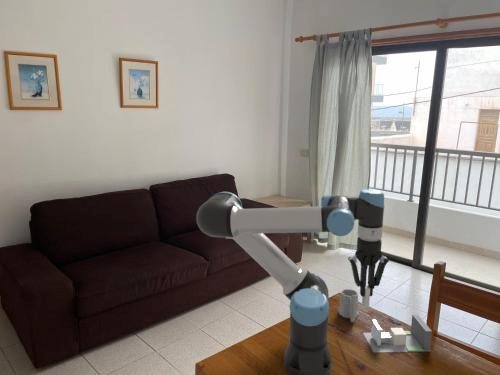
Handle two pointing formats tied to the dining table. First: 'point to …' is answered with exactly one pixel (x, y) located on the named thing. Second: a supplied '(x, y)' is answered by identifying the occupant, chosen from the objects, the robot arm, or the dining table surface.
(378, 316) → the dining table surface
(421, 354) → the dining table surface
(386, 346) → the bench
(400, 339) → the block
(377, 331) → the plunger
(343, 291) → the mug
